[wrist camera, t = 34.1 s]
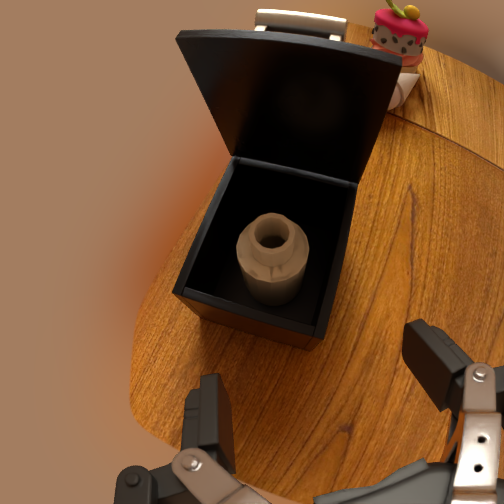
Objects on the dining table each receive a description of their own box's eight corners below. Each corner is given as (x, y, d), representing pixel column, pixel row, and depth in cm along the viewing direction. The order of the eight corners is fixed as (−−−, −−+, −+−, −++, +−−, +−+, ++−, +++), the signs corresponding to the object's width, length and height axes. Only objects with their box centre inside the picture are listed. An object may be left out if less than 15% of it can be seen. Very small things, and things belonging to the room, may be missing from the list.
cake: (410, 56, 49) (423, -1, 35) (423, 82, 44) (442, 18, 31) (364, 47, 50) (372, -13, 36) (372, 71, 46) (384, 3, 32)
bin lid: (402, 66, 11) (400, 9, 12) (174, 38, 13) (212, -11, 14) (358, 184, 25) (367, 132, 26) (230, 155, 27) (248, 108, 28)
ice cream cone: (418, 93, 43) (361, 125, 43) (401, 63, 41) (341, 92, 41) (440, 86, 37) (381, 120, 37) (422, 53, 35) (359, 82, 35)
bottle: (295, 312, 29) (302, 278, 20) (239, 298, 30) (221, 259, 21) (307, 259, 31) (317, 207, 22) (254, 248, 32) (244, 193, 23)
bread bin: (310, 351, 28) (323, 339, 20) (199, 317, 31) (171, 292, 23) (341, 230, 33) (358, 183, 25) (242, 205, 36) (232, 155, 28)
